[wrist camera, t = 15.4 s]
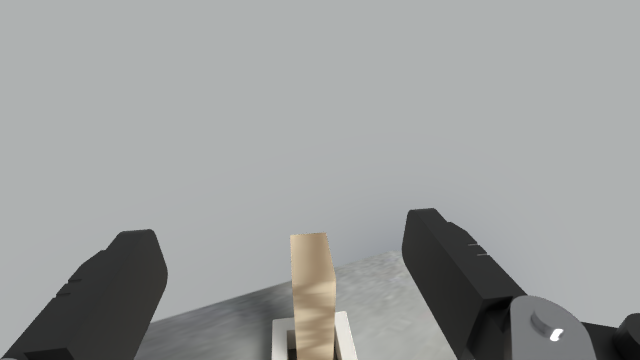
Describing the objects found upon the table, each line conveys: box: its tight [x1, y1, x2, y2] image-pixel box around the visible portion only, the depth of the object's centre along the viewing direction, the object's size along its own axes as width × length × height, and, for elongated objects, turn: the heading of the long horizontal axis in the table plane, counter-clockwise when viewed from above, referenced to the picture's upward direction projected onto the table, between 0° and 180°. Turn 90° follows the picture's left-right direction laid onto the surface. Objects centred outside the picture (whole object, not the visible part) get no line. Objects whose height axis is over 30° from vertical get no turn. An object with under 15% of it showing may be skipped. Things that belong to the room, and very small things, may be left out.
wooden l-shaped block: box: [291, 233, 336, 360], centre depth 33 cm, size 4×7×18 cm, turn 7°
